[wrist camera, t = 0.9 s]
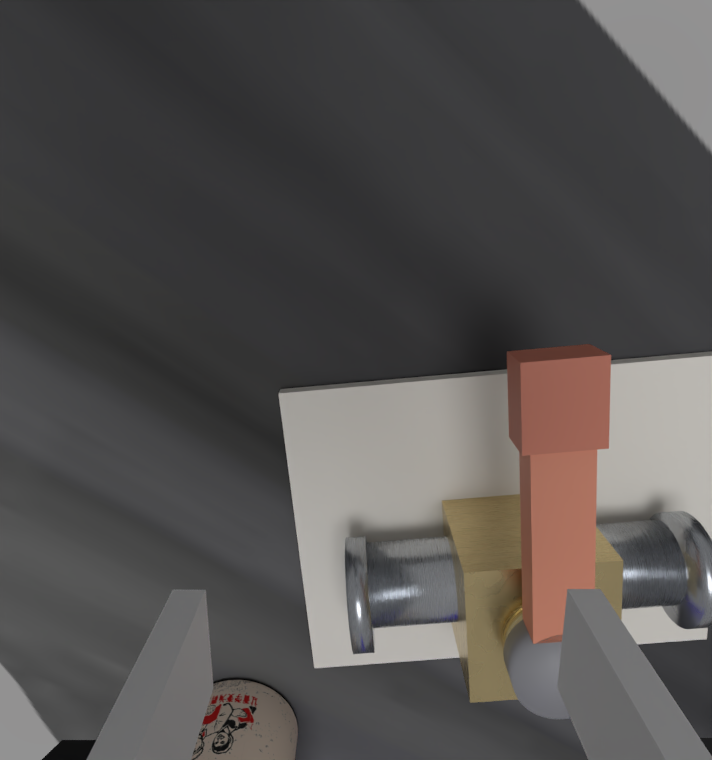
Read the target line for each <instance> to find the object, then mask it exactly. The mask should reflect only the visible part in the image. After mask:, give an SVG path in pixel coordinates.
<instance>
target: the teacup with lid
mask: <svg viewBox="0 0 712 760" xmlns="http://www.w3.org/2000/svg"><path fill="white" fill-rule="evenodd" d="M213 687H214V688H213V691H212V694H211V697H210V701H209V704H208V707H207V710H206V713H205V717H204V720H203V723H202V726H201V729H200V733H199V736H198V739H197V742H196V745H195V749H194V752H193V755H192V758H191V760H295V754H296V746H297V737H298V726H297V721H296V717H295V715H294V712H293V710H292V708H291V707H290V705H289V704H288V703H287V702H286V700H285V699H284V698H283V697H282V696H280V695H279V694H278V693H277V692H275V691H274V690H272V689H271V688H269V687H267V686H265V685H262V684H260V683H256V682H253V681H247V680H227V681H221V682H218V683H215V684H213Z"/></svg>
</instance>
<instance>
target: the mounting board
mask: <svg viewBox="0 0 712 760" xmlns="http://www.w3.org/2000/svg"><path fill="white" fill-rule="evenodd" d="M278 394H279V402H280V409H281V417H282V425H283V432H284V440H285V448H286V455H287V463H288V471H289V478H290V486H291V493H292V501H293V509H294V516H295V524H296V532H297V539H298V547H299V554H300V562H301V570H302V577H303V585H304V593H305V600H306V608H307V616H308V623H309V631H310V638H311V646H312V654H313V661H314V668H324V667H338V666H351V665H365V664H378V663H392V662H405V661H419V660H432V659H445V658H459V653H458V649H457V645H456V640H455V636H454V632H453V628H452V623H439V624H426V625H413V626H399V627H386V628H374V638H375V653H363V654H353V651H352V646H351V640H350V631H349V622H348V610H347V596H346V578H345V539H346V538H347V537H360V536H366V540H367V542H380V541H393V540H405V539H418V538H430V537H443V536H444V532H443V515H442V500H453V499H465V498H478V497H490V496H502V495H514V494H520V467H519V451H518V449H517V448H516V446H515V445H514V444H513V442H512V441H511V439H510V438H509V421H508V381H507V369H505V370H493V371H482V372H470V373H459V374H447V375H436V376H424V377H413V378H402V379H390V380H379V381H367V382H356V383H344V384H333V385H321V386H310V387H298V388H287V389H280V391H279V393H278ZM671 511H684V512H687V513H689V514H691V515H692V516H693V517H695V518H696V519H697V520H698V521H699V522H700V523H701V525H702V526H703V527H704V529H705V530H706V531H707V533H708V535H709V536H710V538H711V540H712V351H711V352H699V353H688V354H676V355H665V356H653V357H642V358H630V359H619V360H611V379H610V424H609V449H598V450H597V498H596V524H605V523H618V522H630V521H643V520H650V518H651V517H652V516H653V515H654V514H656V513H659V512H671ZM621 621H622V622H623V624H624V625H625V627H626V628H627V630H628V631H629V633H630V634H631V636H632V637H633V639H634V640H635V642H636V643H637V644H647V643H661V642H674V641H688V640H701V639H707V629H708V628H697V629H683V628H681V627H679V626H678V625H676V624H675V623H674V622H673V621H672V620H671V619H670V618H669V617H668V615H667V614H666V612H665V611H664V609H663V608H662V607H650V608H636V609H623V610H622V619H621Z"/></svg>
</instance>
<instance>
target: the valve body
mask: <svg viewBox="0 0 712 760" xmlns="http://www.w3.org/2000/svg"><path fill="white" fill-rule="evenodd" d="M442 515H443V532H444V536H443V537H430V538H418V539H405V540H393V541H380V542H367V540H366V536H360V537H347V538H346V539H345V578H346V596H347V610H348V622H349V631H350V640H351V646H352V651H353V654H363V653H375V638H374V628H386V627H399V626H413V625H426V624H439V623H452V628H453V632H454V636H455V640H456V645H457V649H458V653H459V657H460V662H461V666H462V670H463V674H464V679H465V683H466V687H467V691H468V696H469V700H470V703H473V702H487V701H501V700H515V699H518V698H517V696H516V694H515V692H514V689H513V686H512V683H511V680H510V677H509V674H508V671H507V668H506V665H505V662H504V656H503V650H504V644H505V641H506V638H507V636H508V635H509V633H510V631H511V630H512V629H513V628H514V627H515V625H516V624H518V623H519V622H520V621H521V620H523V615H522V566H521V516H520V494H514V495H502V496H490V497H478V498H465V499H453V500H442ZM595 589H601V591H602V592H603V594H604V595H605V597H606V598H607V600H608V601H609V603H610V604H611V606H612V607H613V609H614V610H615V612H616V613H617V615H618V616H619V618H620V619H622V610H623V609H636V608H650V607H662V608H663V609H664V611H665V612H666V614H667V615H668V617H669V618H670V619H671V620H672V621H673V622H674V623H675V624H676V625H678V626H679V627H681V628H683V629H697V628H710V627H712V540H711V538H710V536H709V535H708V533H707V531H706V530H705V529H704V527H703V526H702V525H701V523H700V522H699V521H698V520H697V519H696V518H695V517H693V516H692V515H691V514H689V513H687V512H684V511H671V512H659V513H656V514H654V515H653V516H652V517H651V518H650V520H643V521H630V522H618V523H605V524H596V558H595Z"/></svg>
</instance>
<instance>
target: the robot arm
mask: <svg viewBox="0 0 712 760" xmlns="http://www.w3.org/2000/svg"><path fill="white" fill-rule="evenodd" d="M213 688H214V687H213V675H212V663H211V650H210V638H209V626H208V614H207V601H206V590H172V592H171V594H170V596H169V598H168V600H167V602H166V604H165V606H164V608H163V610H162V612H161V614H160V616H159V618H158V620H157V622H156V624H155V626H154V628H153V630H152V632H151V634H150V636H149V637H148V639H147V641H146V643H145V645H144V647H143V649H142V651H141V653H140V655H139V657H138V659H137V661H136V663H135V665H134V667H133V669H132V671H131V673H130V675H129V677H128V679H127V681H126V683H125V685H124V687H123V689H122V691H121V693H120V695H119V697H118V699H117V700H116V702H115V704H114V706H113V708H112V710H111V712H110V714H109V716H108V718H107V720H106V722H105V724H104V726H103V728H102V730H101V732H100V734H99V736H98V738H97V740H62V741H61V742H60V743H59V744H58V745H57V746H56V747H55V748H53V750H51V751H50V752H49V753H48V754H47V755H46V756H45V757H44V758H43V759H42V760H191V758H192V755H193V752H194V749H195V745H196V742H197V739H198V736H199V733H200V729H201V726H202V723H203V720H204V717H205V713H206V710H207V707H208V704H209V701H210V697H211V694H212V691H213ZM557 688H558V690H559V693H560V695H561V697H562V700H563V702H564V704H565V707H566V709H567V711H568V714H569V716H570V718H571V720H572V723H573V725H574V727H575V730H576V732H577V734H578V737H579V739H580V741H581V744H582V746H583V748H584V751H585V753H586V755H587V758H588V760H712V738H699V736H698V735H697V733H696V732H695V730H694V729H693V727H692V726H691V724H690V723H689V721H688V720H687V718H686V717H685V715H684V714H683V712H682V711H681V709H680V708H679V706H678V705H677V703H676V702H675V700H674V699H673V697H672V696H671V694H670V693H669V691H668V690H667V688H666V687H665V685H664V684H663V682H662V681H661V679H660V678H659V676H658V675H657V673H656V672H655V670H654V669H653V667H652V666H651V664H650V663H649V661H648V660H647V658H646V657H645V655H644V654H643V652H642V651H641V649H640V648H639V646H638V645H637V643H636V642H635V640H634V639H633V637H632V636H631V634H630V633H629V631H628V630H627V628H626V627H625V625H624V624H623V622H622V621H621V619H620V618H619V616H618V615H617V613H616V612H615V610H614V609H613V607H612V606H611V604H610V603H609V601H608V600H607V598H606V597H605V595H604V594H603V592H602V591H601V589H567V597H566V607H565V617H564V626H563V636H562V646H561V655H560V665H559V675H558V684H557Z"/></svg>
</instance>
